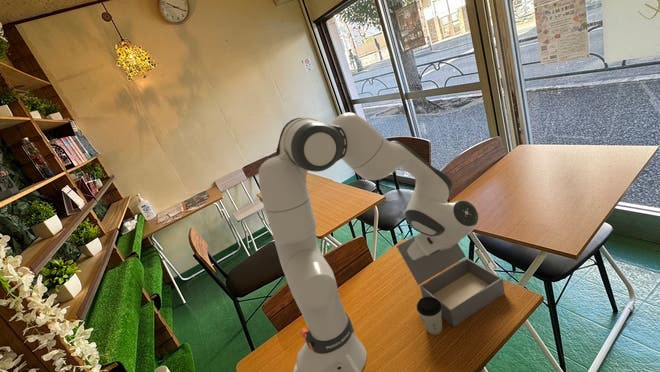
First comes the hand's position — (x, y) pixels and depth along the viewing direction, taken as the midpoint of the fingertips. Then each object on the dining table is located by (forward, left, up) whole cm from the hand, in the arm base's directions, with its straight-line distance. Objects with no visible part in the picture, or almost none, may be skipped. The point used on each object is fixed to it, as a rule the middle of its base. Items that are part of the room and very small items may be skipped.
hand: (429, 246), depth 105 cm
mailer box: (0, -12, -13) cm, 18 cm away
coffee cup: (-15, -16, -14) cm, 26 cm away
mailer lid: (0, -1, -1) cm, 2 cm away
